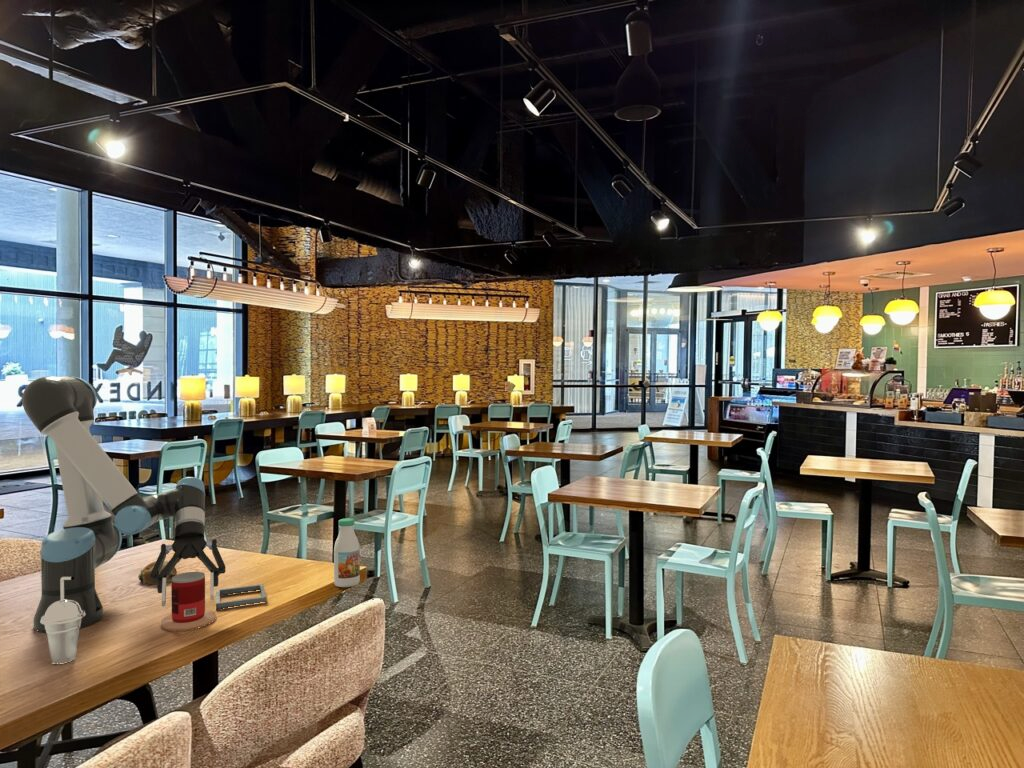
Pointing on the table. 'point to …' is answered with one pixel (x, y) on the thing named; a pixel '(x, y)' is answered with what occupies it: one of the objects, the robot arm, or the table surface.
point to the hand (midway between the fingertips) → (188, 600)
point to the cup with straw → (63, 627)
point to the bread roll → (146, 572)
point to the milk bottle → (346, 555)
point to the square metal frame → (242, 601)
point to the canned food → (188, 597)
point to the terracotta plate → (170, 625)
